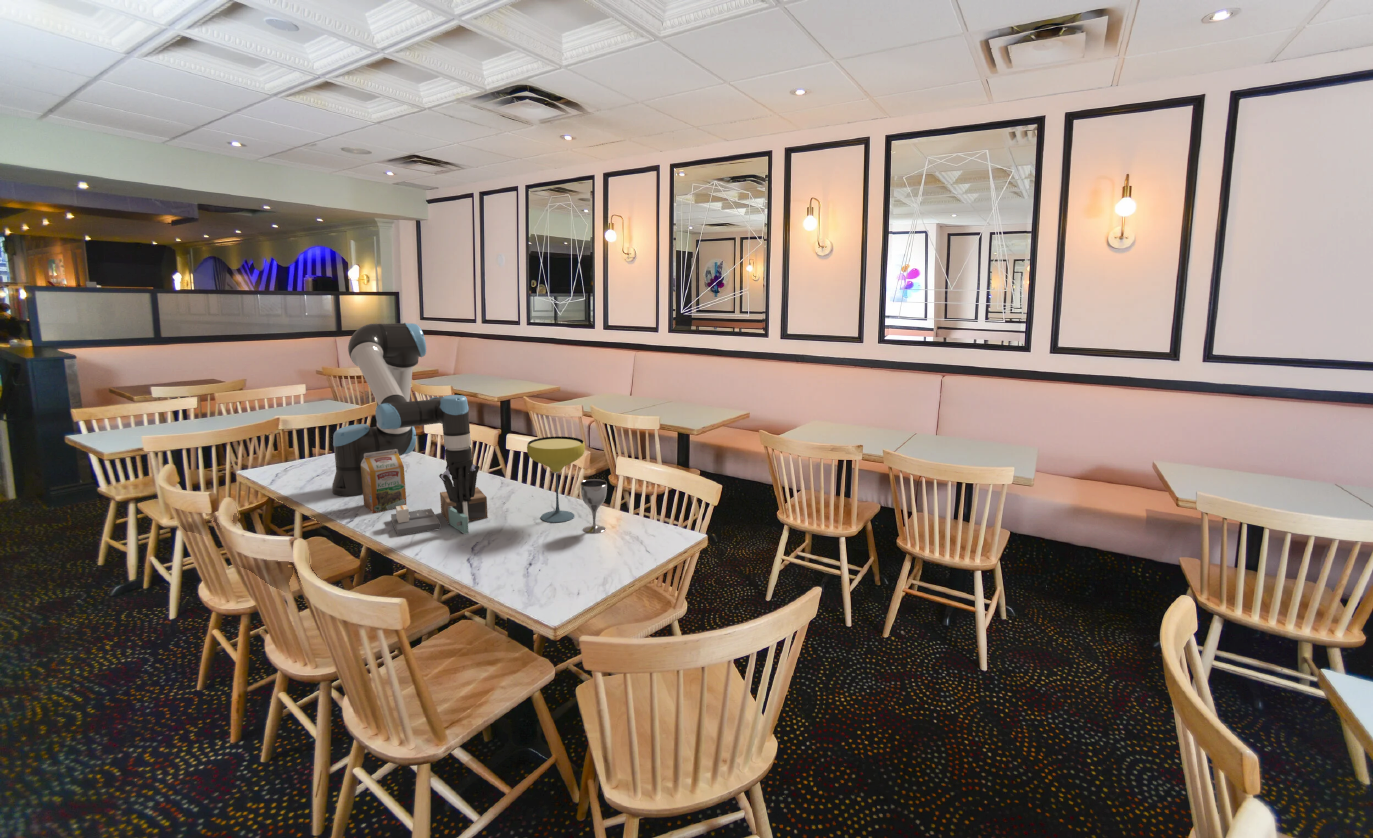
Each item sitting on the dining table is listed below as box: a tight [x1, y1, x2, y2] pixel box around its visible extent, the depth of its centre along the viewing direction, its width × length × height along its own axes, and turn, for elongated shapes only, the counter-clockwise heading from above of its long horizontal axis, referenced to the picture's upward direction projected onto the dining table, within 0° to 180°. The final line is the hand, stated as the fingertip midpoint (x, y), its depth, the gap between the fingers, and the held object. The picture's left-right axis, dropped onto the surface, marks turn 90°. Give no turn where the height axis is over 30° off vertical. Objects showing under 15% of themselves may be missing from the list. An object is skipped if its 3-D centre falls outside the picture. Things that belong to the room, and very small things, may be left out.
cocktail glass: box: [526, 436, 586, 524], centre depth 202 cm, size 18×18×25 cm
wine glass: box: [580, 478, 608, 535], centre depth 193 cm, size 8×8×15 cm
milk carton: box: [361, 449, 407, 514], centre depth 210 cm, size 11×11×19 cm
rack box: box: [439, 486, 489, 525], centre depth 204 cm, size 12×12×7 cm
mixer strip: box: [390, 508, 441, 537], centre depth 196 cm, size 15×12×2 cm
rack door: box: [447, 506, 469, 535], centre depth 192 cm, size 2×12×6 cm, turn 44°
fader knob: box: [395, 505, 410, 523], centre depth 193 cm, size 4×3×4 cm
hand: (464, 521), depth 192 cm, fingers closed
